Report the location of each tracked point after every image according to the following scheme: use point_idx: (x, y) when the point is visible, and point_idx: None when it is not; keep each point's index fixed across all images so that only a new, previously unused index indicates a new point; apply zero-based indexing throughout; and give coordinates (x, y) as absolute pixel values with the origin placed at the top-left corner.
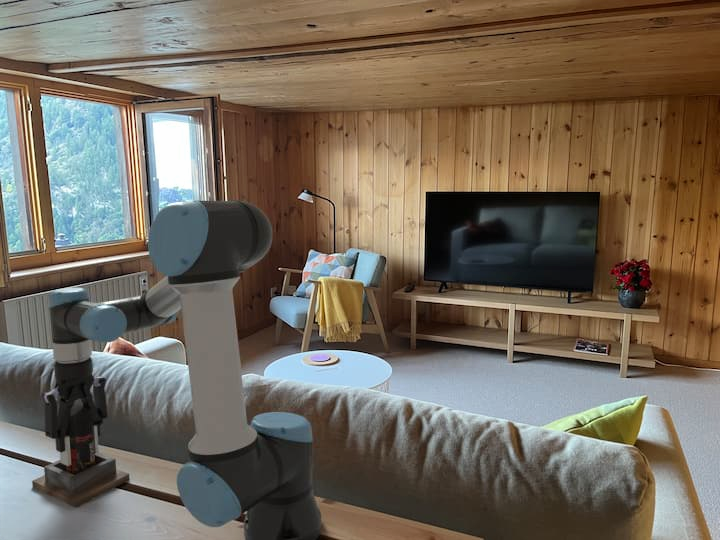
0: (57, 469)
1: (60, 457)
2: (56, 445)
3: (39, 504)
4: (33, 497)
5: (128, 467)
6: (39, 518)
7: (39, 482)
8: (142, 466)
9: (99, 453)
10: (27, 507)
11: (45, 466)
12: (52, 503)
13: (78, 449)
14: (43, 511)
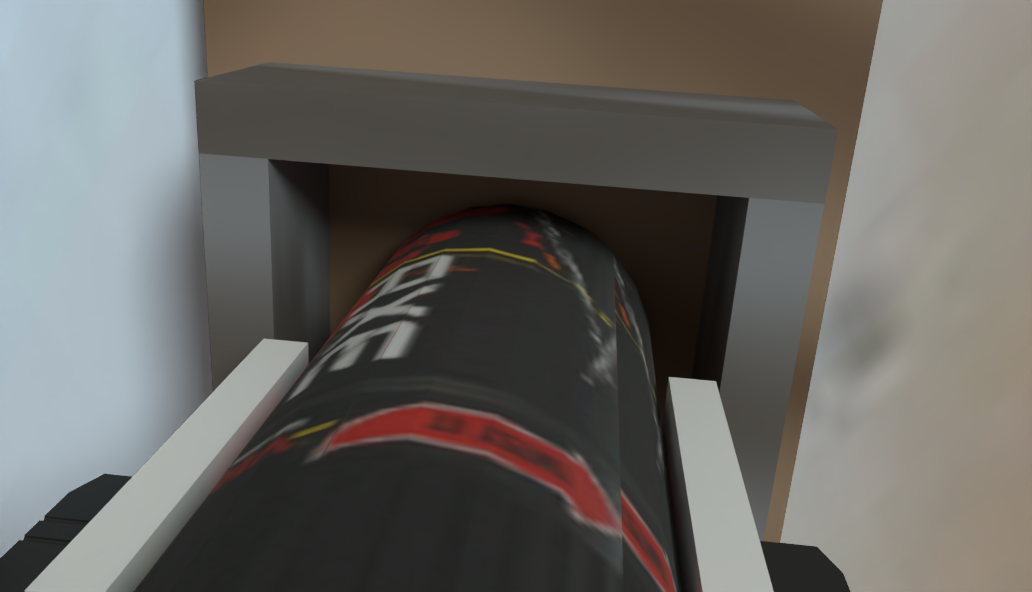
0: (248, 299)
1: (231, 378)
2: (30, 547)
3: (117, 269)
4: (140, 113)
5: (938, 452)
6: (27, 440)
7: (223, 25)
8: (1000, 550)
9: (772, 410)
10: (36, 219)
11: (208, 91)
12: (187, 351)
13: None
14: (88, 387)
